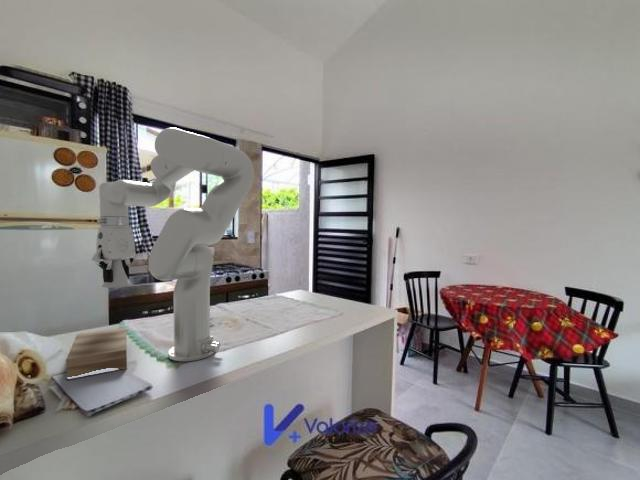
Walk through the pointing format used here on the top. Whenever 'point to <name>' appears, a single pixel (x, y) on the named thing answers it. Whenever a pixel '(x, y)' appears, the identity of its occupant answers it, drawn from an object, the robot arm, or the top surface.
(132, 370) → the top surface
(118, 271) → the flask
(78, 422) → the top surface
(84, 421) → the top surface
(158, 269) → the robot arm
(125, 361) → the walnut riser
